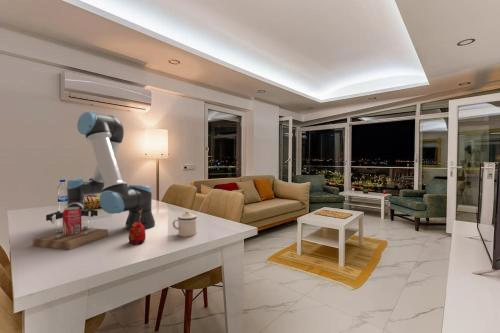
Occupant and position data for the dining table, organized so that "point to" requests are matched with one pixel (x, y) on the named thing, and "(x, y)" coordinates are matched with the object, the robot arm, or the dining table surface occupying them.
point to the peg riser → (70, 238)
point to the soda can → (71, 221)
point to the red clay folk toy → (137, 232)
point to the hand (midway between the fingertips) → (71, 218)
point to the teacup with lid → (186, 224)
